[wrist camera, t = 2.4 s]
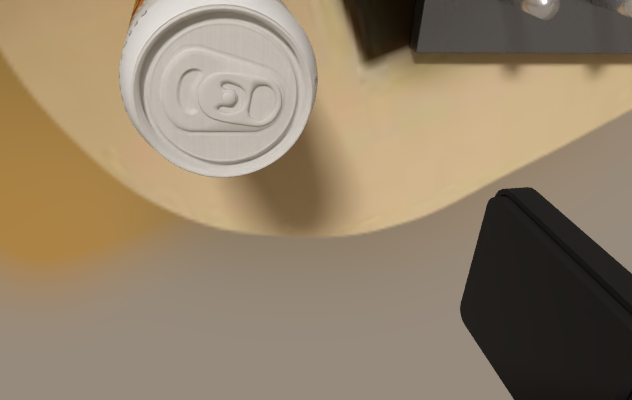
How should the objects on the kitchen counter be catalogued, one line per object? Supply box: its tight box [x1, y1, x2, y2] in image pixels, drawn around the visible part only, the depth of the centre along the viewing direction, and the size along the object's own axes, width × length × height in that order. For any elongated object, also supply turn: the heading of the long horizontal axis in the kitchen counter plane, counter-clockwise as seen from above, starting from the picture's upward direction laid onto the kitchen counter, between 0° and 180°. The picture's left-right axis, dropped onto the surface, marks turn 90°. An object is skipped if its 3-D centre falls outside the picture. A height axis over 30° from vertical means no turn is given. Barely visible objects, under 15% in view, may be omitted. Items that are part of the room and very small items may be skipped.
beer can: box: [119, 0, 318, 177], centre depth 22 cm, size 6×6×15 cm
